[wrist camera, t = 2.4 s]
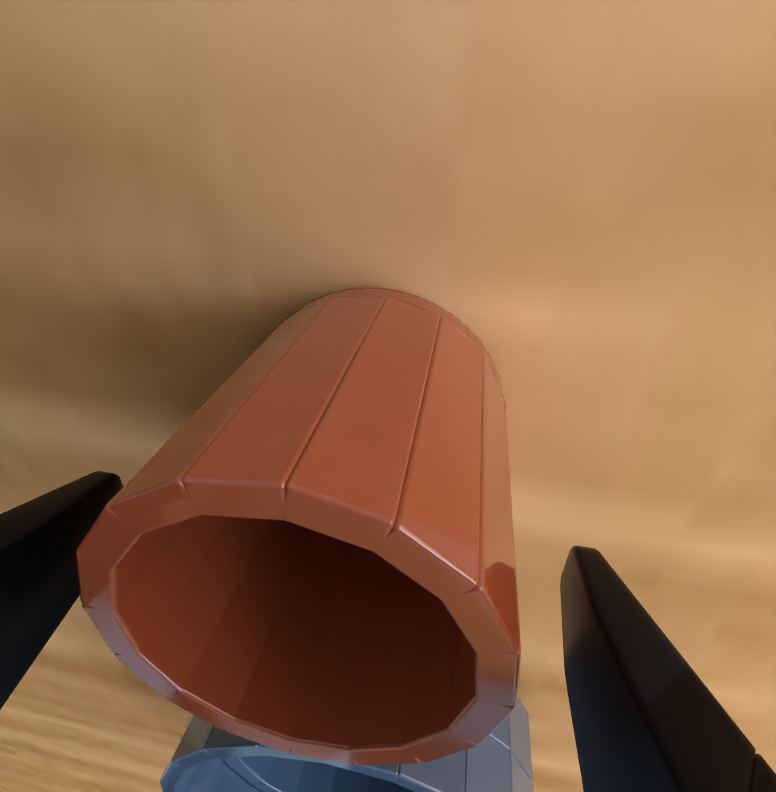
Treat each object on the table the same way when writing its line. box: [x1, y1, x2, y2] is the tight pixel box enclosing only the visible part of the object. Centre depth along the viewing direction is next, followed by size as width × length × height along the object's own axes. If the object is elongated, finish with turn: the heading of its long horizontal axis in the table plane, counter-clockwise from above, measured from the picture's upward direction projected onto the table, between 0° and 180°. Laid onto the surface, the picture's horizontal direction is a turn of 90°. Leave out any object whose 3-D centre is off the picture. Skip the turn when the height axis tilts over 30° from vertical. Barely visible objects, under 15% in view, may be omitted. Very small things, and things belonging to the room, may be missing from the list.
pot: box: [76, 288, 521, 765], centre depth 10 cm, size 7×7×7 cm
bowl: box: [160, 698, 533, 792], centre depth 19 cm, size 13×13×5 cm
